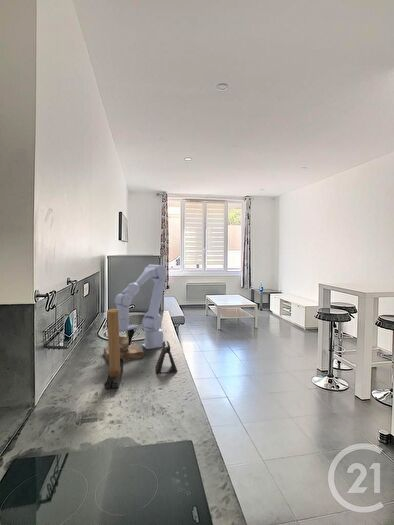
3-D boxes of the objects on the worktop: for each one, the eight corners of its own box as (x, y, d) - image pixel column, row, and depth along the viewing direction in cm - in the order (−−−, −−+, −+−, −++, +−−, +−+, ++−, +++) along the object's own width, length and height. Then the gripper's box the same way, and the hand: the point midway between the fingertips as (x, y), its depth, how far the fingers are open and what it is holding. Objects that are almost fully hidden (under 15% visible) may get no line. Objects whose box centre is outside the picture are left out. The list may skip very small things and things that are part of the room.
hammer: (118, 396, 112) (115, 321, 105) (104, 397, 111) (100, 322, 104) (124, 366, 131) (122, 301, 124) (112, 366, 130) (110, 301, 123)
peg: (129, 350, 150) (129, 335, 150) (127, 354, 145) (127, 338, 145) (119, 350, 150) (119, 335, 150) (116, 354, 145) (116, 338, 145)
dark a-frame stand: (175, 366, 134) (175, 340, 134) (177, 372, 129) (177, 344, 128) (155, 368, 133) (155, 341, 132) (156, 373, 127) (156, 345, 126)
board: (135, 348, 158) (135, 343, 158) (143, 357, 146) (143, 351, 145) (103, 353, 150) (103, 347, 150) (109, 363, 138) (109, 356, 138)
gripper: (135, 315, 154) (135, 341, 155) (106, 318, 147) (106, 345, 148) (139, 318, 148) (139, 345, 148) (109, 321, 141) (109, 349, 142)
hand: (123, 345), depth 148 cm, fingers closed on peg, 5 cm apart
